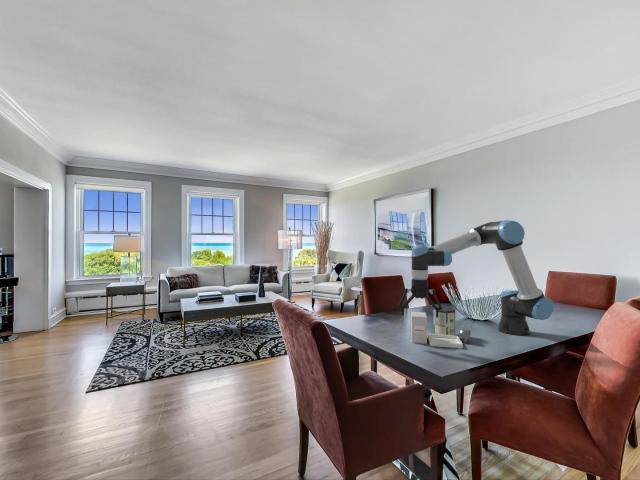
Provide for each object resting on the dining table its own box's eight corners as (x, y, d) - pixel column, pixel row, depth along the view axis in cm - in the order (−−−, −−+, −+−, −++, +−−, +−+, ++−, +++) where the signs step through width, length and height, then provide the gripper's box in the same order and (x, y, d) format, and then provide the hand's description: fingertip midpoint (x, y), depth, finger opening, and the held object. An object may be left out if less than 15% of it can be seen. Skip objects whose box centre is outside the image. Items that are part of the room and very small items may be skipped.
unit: (425, 337, 165) (425, 312, 165) (426, 344, 154) (426, 317, 154) (411, 336, 167) (411, 311, 167) (411, 342, 155) (411, 316, 156)
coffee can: (439, 331, 176) (439, 306, 176) (458, 335, 169) (458, 308, 169) (431, 335, 168) (431, 309, 169) (451, 339, 161) (451, 311, 162)
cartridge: (469, 341, 158) (469, 329, 158) (471, 344, 153) (471, 332, 153) (458, 340, 159) (458, 328, 160) (460, 343, 155) (460, 331, 155)
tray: (457, 339, 161) (457, 335, 161) (462, 348, 147) (462, 344, 147) (427, 337, 165) (427, 333, 165) (429, 346, 150) (429, 341, 150)
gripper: (446, 278, 150) (446, 323, 150) (393, 277, 157) (393, 319, 157) (448, 280, 143) (448, 327, 143) (392, 278, 150) (392, 323, 149)
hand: (419, 323), depth 150 cm, fingers open, 13 cm apart
